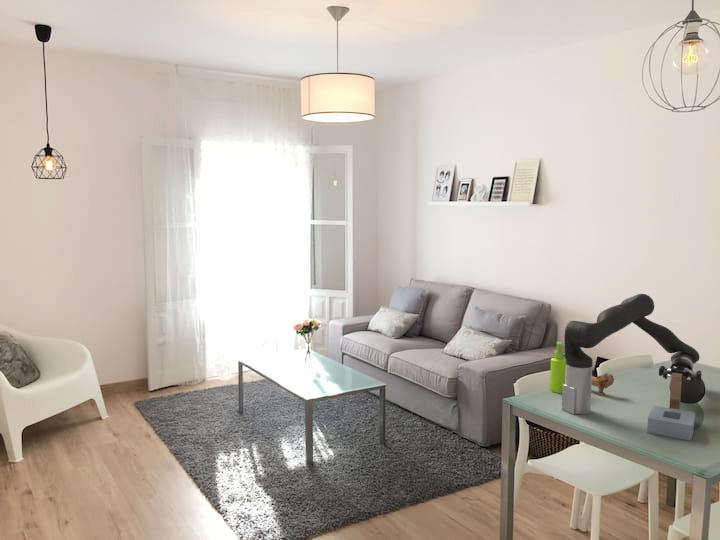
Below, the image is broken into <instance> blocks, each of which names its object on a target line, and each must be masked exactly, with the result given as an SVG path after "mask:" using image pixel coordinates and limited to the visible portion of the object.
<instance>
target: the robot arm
mask: <svg viewBox="0 0 720 540" xmlns="http://www.w3.org/2000/svg"><path fill="white" fill-rule="evenodd" d="M654 310H655V301H654V299H653V298H652V297H651V296H649V295H648V294H646V293H639V294H638V293H637V294H636V295H633V296H629V297H628V298H625V299H624V300H622V302H621V303H620V304H617V305H614V306H611V307H608V308H606V309H604V310H602V311H600V313H599V314H598V315H597V318H596V322H593V323H592V322H585V321H579V320H570V321H569V322H568V323H567V324H566V327H565V329H564V335H563V337H564V359H566V370H565V384H563V390H562V393H561V396H562V397H561V410H563V411H565V412H567V413H570V414H572V415H587V414H589V413H591V405H592V401H591V400H592V399H591V398H592V386H593V385H592V376H593V362H594V361H593V358H592V357H591V356H590V355H588V354H586V353H585V352H584V351H583V349H592V348H594V347H596V346H597V345H599V344H601V342H602V341H604V340H605V339H607V337H610V336H612V335H613V334H615V333H617V332H619V331H621V330H623V329H624V328H626V327H627V326H630V324H632V323H633V324H634V325H635V326H637V327H638V328H639V329H641V330H642V331H644V333H646V334H647V335H649V336H650V337H652V338H653V339H654V341H656V342H657V343H658V344H659V346H660V347H661V348H663V350H664V351H666V352H667V353H669V354H672V355H671V356H670V361H671V365H670V367H668V368H666V366H664V365H661V366H659V369H658V376H660V377H662V378H664V379H665V380H667V379H668V378H671V376H672V373H678V374H682V377H688V378H687V379H686V380H688V381H690V383H695V382H696V381H697V382H702V375H703V374H702V370H696V371H694V365H695V364H696V363H698V362H699V360H700V354H699V352H698V350H696V349H695V348H693V346H691V345H689V344H687V343H685V342H683V341H682V340H681V339H680V338H679V337H678V336H677V335H676V334H675V333H674V332H673V331H672V330H670V329H669V328H667V327H666V326H664V325H661V324H659V323H656V322H654V321H652V320H649V319H648V318H647V317H648V316H650V315H652V313H653V312H654ZM582 348H583V349H582Z"/></svg>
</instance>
